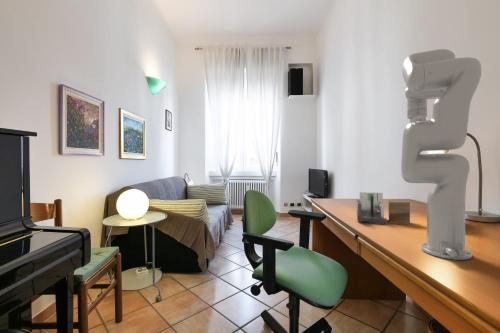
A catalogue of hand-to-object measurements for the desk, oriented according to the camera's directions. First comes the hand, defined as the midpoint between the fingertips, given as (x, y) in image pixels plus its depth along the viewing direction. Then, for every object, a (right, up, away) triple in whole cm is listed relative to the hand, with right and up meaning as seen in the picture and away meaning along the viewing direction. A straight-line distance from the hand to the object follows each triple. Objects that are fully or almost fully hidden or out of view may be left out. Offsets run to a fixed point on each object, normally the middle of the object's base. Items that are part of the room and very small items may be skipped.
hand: (417, 151), depth 114 cm
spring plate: (-15, -32, +5) cm, 35 cm away
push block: (-7, -34, +2) cm, 34 cm away
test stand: (-19, -34, +6) cm, 39 cm away
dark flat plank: (-16, -32, +9) cm, 37 cm away
